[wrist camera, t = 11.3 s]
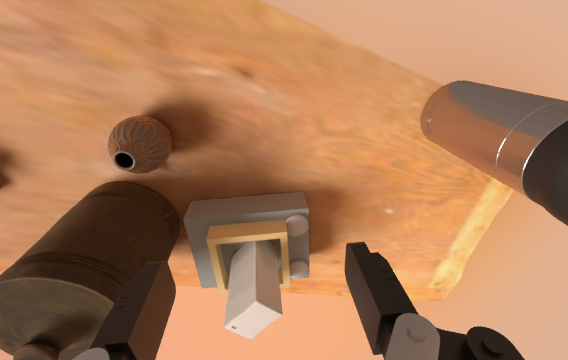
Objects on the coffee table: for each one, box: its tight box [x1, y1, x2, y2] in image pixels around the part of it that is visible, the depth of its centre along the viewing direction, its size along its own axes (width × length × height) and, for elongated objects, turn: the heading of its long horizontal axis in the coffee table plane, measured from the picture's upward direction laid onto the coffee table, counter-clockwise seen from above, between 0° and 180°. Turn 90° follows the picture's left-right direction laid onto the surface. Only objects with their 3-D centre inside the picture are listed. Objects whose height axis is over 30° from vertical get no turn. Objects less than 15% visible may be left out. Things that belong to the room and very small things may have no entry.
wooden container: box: [0, 182, 179, 360], centre depth 34 cm, size 15×15×22 cm
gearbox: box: [183, 191, 309, 295], centre depth 43 cm, size 18×14×8 cm
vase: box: [108, 116, 172, 173], centre depth 33 cm, size 7×7×9 cm
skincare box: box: [224, 240, 283, 339], centre depth 36 cm, size 6×4×12 cm
